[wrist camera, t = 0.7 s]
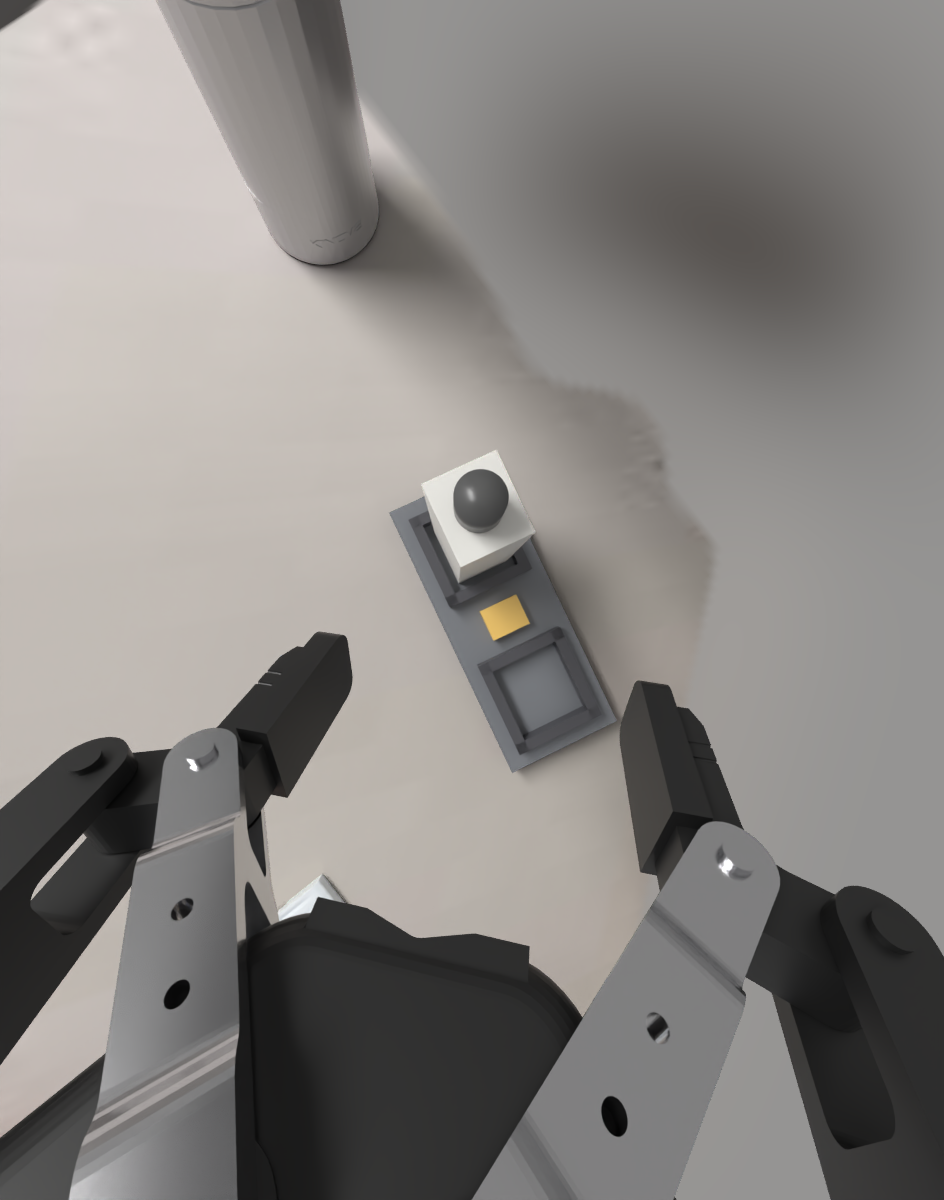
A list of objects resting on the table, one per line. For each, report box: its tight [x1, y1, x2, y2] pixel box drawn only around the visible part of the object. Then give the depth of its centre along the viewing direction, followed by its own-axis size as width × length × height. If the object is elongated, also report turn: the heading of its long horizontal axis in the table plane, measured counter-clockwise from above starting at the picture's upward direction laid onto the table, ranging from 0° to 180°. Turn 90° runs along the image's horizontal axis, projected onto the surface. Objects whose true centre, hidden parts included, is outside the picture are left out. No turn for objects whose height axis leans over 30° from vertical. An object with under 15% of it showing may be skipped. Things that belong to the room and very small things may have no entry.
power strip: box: [389, 497, 617, 773], centre depth 32 cm, size 22×9×3 cm, turn 25°
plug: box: [421, 450, 535, 583], centre depth 25 cm, size 4×4×14 cm
